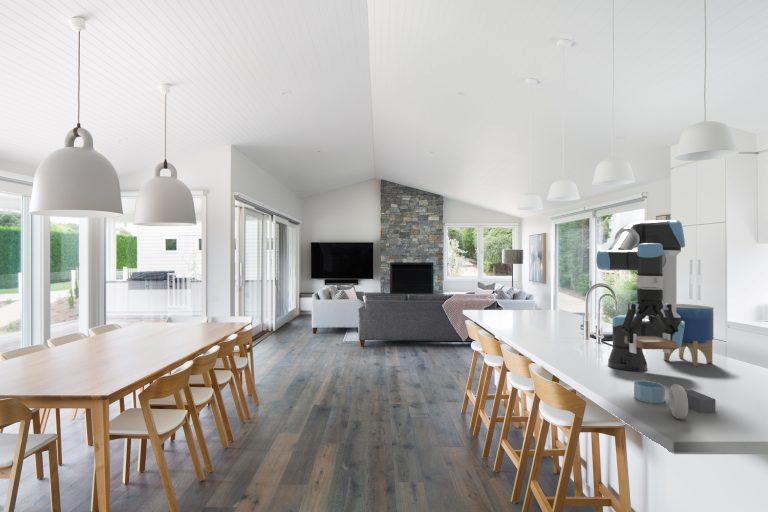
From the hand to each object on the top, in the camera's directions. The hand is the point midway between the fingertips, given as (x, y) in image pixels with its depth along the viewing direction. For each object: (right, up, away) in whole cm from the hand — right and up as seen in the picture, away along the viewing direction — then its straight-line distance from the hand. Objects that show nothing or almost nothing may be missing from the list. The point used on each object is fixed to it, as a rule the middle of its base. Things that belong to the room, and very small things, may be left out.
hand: (649, 352), depth 148 cm
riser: (+10, -16, -8) cm, 20 cm away
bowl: (0, -16, 0) cm, 16 cm away
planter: (+52, -17, +56) cm, 78 cm away
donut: (-3, -16, -18) cm, 24 cm away
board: (0, +2, 0) cm, 2 cm away
